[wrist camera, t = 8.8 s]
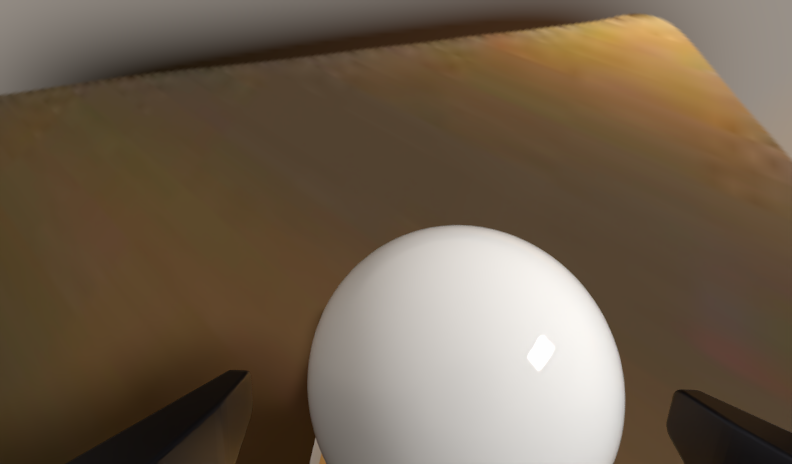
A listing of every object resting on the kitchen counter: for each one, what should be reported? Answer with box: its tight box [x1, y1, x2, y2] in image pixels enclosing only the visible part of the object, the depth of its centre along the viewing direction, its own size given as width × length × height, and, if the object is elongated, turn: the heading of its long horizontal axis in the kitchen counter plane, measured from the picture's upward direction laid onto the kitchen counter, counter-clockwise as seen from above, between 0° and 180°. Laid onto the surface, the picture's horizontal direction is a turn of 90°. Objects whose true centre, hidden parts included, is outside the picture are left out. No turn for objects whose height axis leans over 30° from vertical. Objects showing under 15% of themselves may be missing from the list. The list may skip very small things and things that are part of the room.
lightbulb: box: [307, 225, 625, 464], centre depth 11 cm, size 6×6×11 cm
